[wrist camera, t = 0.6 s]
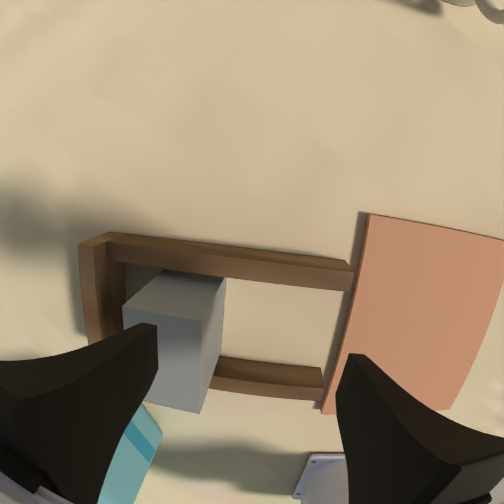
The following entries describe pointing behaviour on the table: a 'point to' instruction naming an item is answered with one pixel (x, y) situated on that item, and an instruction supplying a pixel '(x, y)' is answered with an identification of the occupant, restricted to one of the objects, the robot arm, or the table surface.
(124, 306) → the blank block
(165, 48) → the table surface
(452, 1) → the mug
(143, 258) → the frame
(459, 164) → the table surface
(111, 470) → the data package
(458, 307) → the mat
